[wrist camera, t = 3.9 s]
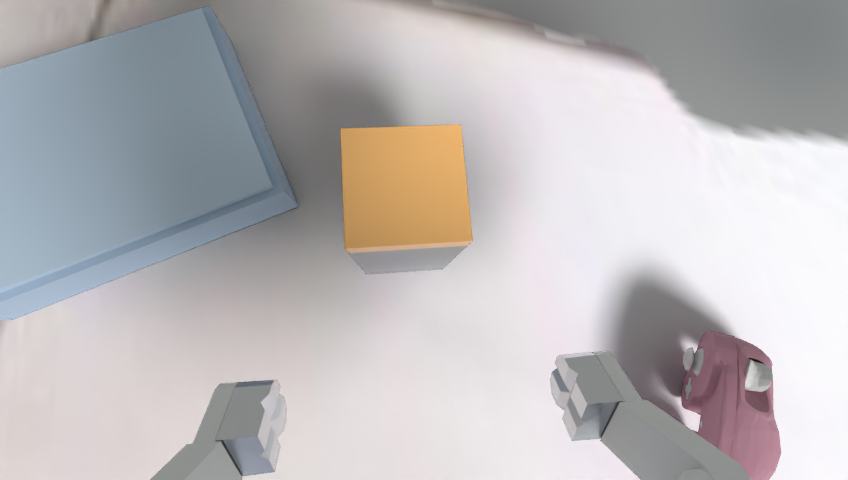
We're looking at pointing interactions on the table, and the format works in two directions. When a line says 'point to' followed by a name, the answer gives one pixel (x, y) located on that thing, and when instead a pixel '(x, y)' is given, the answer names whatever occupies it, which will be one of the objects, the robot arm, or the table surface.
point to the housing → (404, 197)
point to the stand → (127, 158)
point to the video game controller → (734, 401)
